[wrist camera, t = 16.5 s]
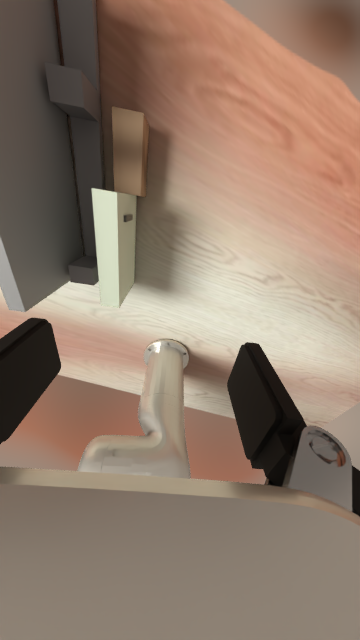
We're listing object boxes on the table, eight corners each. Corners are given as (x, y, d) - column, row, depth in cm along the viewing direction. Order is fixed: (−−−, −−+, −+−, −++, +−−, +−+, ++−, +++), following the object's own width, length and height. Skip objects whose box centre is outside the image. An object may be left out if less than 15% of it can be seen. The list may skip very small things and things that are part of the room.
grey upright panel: (108, 273, 40) (64, 317, 25) (75, 268, 40) (9, 309, 24) (95, -4, 22) (-93, -453, 7) (33, -20, 22) (-317, -545, 6)
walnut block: (145, 196, 33) (140, 196, 29) (122, 192, 33) (114, 191, 28) (149, 126, 28) (143, 112, 24) (122, 120, 28) (111, 105, 24)
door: (136, 282, 41) (121, 308, 31) (120, 280, 41) (100, 305, 31) (138, 195, 32) (120, 193, 23) (119, 192, 32) (91, 187, 22)
